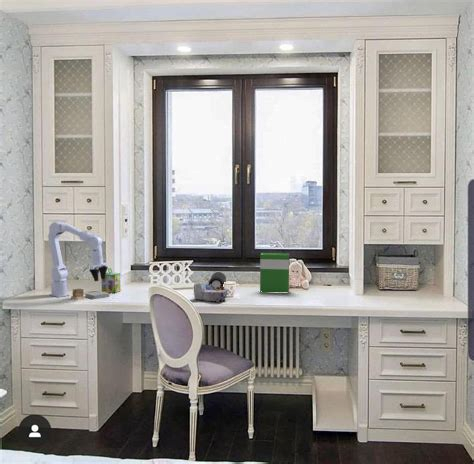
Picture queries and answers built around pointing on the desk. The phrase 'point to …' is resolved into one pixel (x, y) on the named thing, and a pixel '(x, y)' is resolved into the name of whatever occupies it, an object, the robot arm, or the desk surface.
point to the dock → (97, 295)
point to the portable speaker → (217, 280)
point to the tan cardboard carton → (78, 294)
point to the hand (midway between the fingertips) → (99, 280)
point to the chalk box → (111, 282)
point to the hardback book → (274, 272)
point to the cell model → (209, 292)
